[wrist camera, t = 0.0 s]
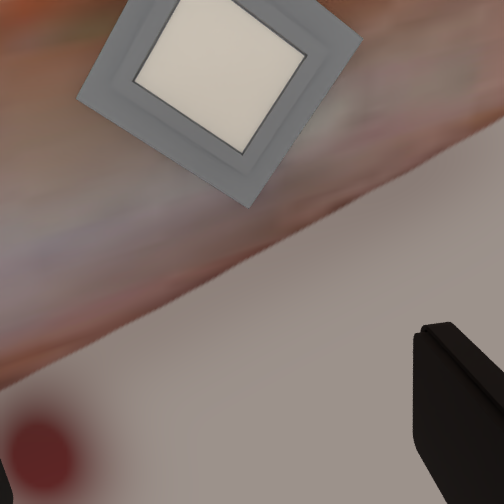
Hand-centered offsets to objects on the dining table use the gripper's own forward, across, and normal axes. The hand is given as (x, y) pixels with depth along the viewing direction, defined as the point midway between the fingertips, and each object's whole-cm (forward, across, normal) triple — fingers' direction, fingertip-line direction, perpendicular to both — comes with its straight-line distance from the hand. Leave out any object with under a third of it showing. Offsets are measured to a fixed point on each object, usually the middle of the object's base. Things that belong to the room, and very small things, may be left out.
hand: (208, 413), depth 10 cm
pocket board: (+31, -2, -8) cm, 32 cm away
